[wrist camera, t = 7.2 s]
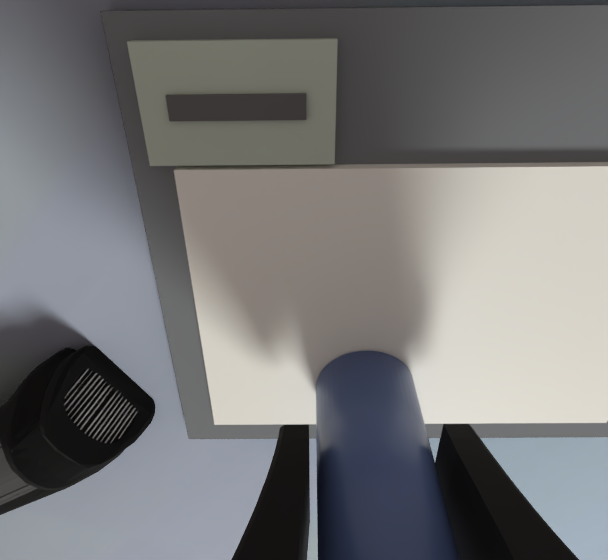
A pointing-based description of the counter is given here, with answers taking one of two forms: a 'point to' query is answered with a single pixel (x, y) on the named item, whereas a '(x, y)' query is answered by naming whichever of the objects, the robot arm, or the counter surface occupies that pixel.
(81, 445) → the electric trimmer
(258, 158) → the word tile
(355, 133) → the desk mat
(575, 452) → the counter surface
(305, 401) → the paper
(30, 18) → the counter surface
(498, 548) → the robot arm
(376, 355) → the marker
